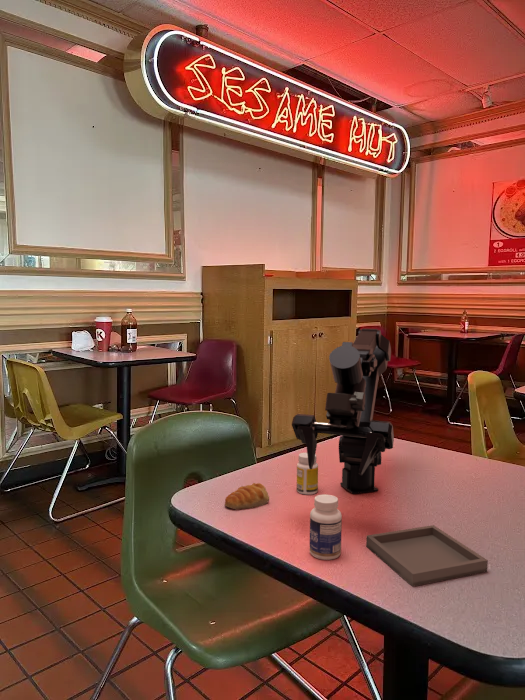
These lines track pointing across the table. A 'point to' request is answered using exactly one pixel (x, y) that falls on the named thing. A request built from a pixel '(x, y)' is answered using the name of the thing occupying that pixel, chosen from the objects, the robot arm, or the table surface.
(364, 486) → the robot arm
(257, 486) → the pastry
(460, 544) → the tray
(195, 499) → the table surface
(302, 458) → the supplement bottle
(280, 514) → the table surface
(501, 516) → the table surface
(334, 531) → the pill bottle
